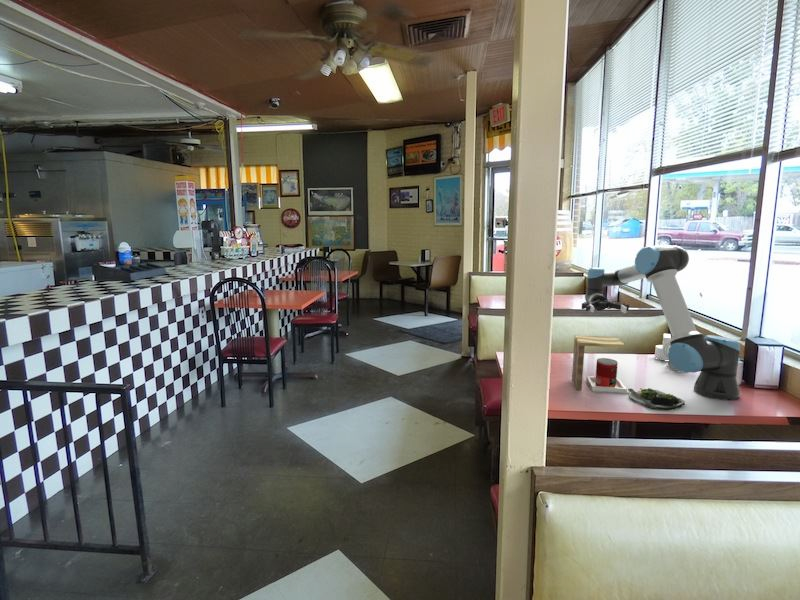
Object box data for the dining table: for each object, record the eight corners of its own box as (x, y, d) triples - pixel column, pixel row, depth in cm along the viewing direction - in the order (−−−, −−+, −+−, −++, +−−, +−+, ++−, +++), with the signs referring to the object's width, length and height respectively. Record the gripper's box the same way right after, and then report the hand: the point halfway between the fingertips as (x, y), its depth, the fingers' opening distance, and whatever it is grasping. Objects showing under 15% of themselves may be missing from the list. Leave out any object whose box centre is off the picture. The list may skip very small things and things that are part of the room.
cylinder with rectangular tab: (675, 362, 222) (677, 338, 220) (654, 359, 227) (656, 336, 224) (675, 357, 230) (677, 334, 228) (654, 355, 234) (656, 332, 232)
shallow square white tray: (586, 380, 198) (586, 376, 197) (618, 382, 195) (618, 378, 195) (592, 391, 185) (592, 386, 185) (626, 393, 183) (626, 388, 182)
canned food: (613, 390, 185) (615, 364, 183) (592, 386, 190) (594, 361, 188) (617, 385, 191) (619, 360, 189) (597, 381, 196) (599, 356, 194)
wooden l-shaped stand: (571, 380, 198) (574, 335, 195) (613, 382, 195) (617, 337, 191) (576, 389, 187) (579, 342, 183) (620, 392, 183) (624, 344, 180)
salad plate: (614, 396, 181) (614, 385, 180) (644, 389, 188) (645, 378, 188) (658, 414, 164) (660, 402, 163) (690, 406, 171) (692, 394, 170)
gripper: (625, 310, 219) (638, 319, 199) (571, 308, 224) (578, 317, 204) (626, 294, 218) (640, 302, 198) (572, 293, 223) (579, 300, 203)
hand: (609, 309), depth 201 cm, fingers open, 13 cm apart
